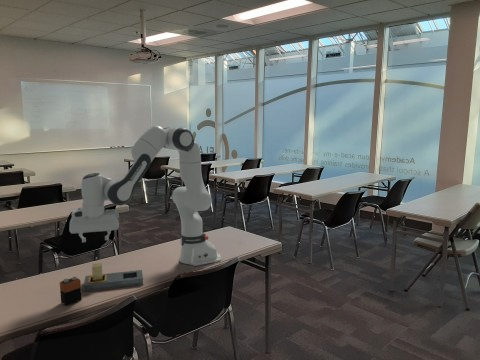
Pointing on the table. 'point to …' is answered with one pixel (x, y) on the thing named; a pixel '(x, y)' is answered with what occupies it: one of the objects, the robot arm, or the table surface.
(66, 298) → the battery
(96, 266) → the brass block
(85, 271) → the table surface
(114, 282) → the grey socket board
